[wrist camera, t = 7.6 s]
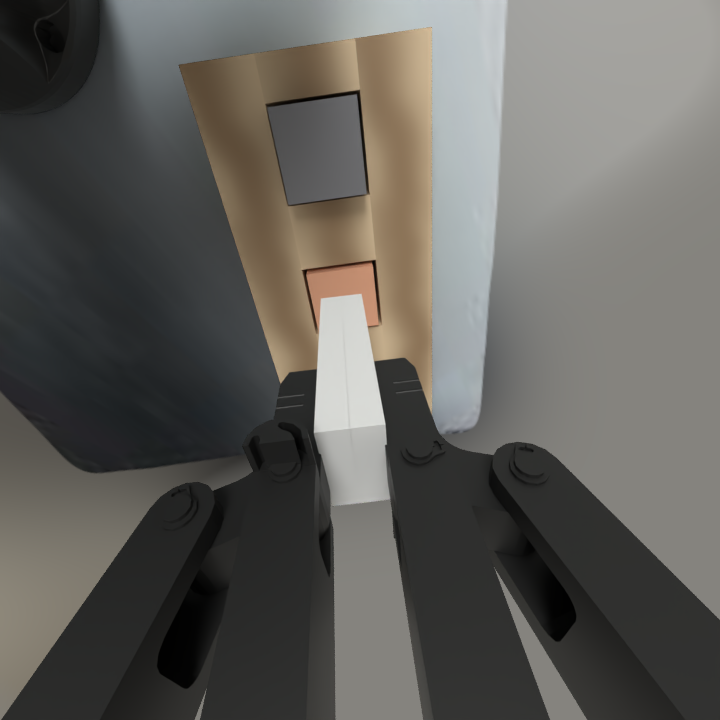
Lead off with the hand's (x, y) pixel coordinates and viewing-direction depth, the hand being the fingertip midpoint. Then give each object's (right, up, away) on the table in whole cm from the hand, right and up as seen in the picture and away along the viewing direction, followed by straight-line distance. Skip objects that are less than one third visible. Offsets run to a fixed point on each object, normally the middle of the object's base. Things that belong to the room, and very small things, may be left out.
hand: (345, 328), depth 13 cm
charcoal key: (-2, +13, +10) cm, 17 cm away
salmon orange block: (-1, +6, +17) cm, 18 cm away
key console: (-1, +6, +18) cm, 19 cm away
